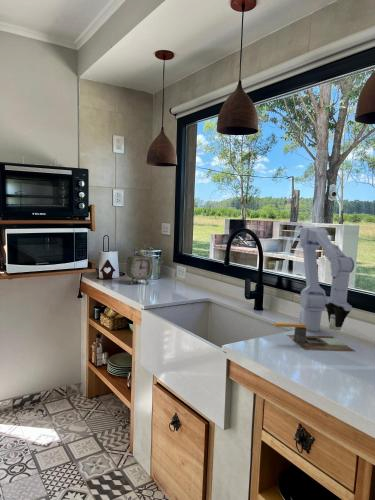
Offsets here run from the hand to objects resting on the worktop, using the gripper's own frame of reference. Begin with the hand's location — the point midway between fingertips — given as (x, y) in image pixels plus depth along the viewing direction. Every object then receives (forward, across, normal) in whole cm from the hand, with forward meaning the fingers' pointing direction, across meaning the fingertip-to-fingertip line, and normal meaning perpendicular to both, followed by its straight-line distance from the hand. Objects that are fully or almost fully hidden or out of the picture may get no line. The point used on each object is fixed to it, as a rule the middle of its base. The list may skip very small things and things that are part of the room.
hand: (335, 324), depth 137 cm
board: (+8, +1, -6) cm, 10 cm away
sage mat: (+7, 0, 0) cm, 7 cm away
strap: (+1, +1, -18) cm, 18 cm away
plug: (+1, 0, 0) cm, 1 cm away
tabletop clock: (+8, -101, -72) cm, 125 cm away
